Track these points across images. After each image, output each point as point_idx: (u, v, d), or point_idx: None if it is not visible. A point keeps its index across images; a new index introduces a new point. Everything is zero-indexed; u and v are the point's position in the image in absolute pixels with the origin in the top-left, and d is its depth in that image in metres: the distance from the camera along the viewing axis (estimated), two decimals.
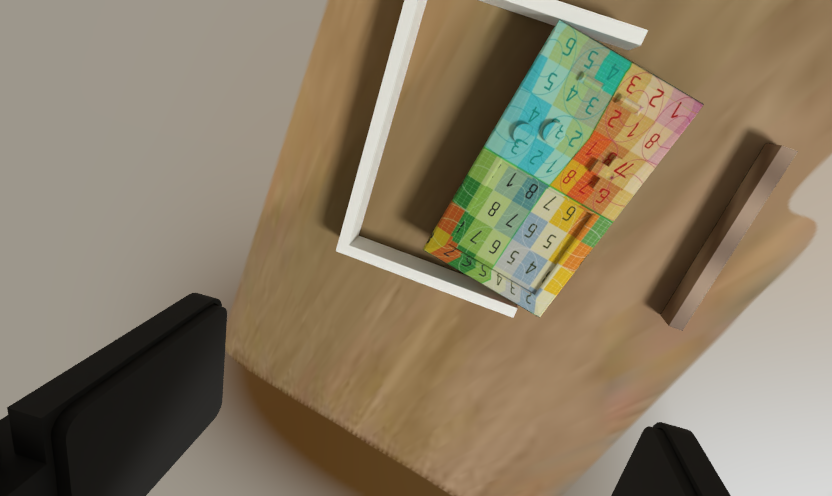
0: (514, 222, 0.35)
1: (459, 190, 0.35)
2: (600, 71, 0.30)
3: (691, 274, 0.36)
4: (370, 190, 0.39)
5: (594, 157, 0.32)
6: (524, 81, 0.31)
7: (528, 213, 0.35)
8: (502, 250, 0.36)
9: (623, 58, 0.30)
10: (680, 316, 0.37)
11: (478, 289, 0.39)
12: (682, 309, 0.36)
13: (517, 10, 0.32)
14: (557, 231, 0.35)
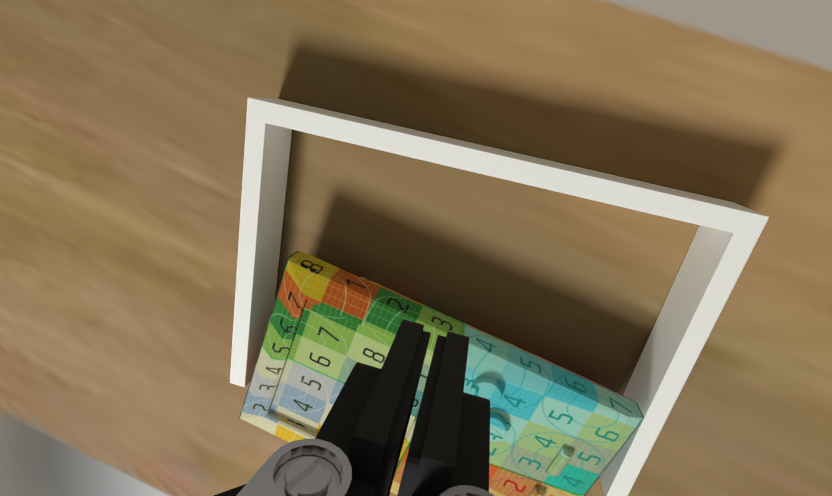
0: None
1: (392, 307, 0.22)
2: (574, 469, 0.23)
3: None
4: None
5: None
6: (560, 385, 0.22)
7: None
8: (318, 369, 0.24)
9: (589, 487, 0.24)
10: None
11: (256, 329, 0.26)
12: None
13: (655, 345, 0.23)
14: None
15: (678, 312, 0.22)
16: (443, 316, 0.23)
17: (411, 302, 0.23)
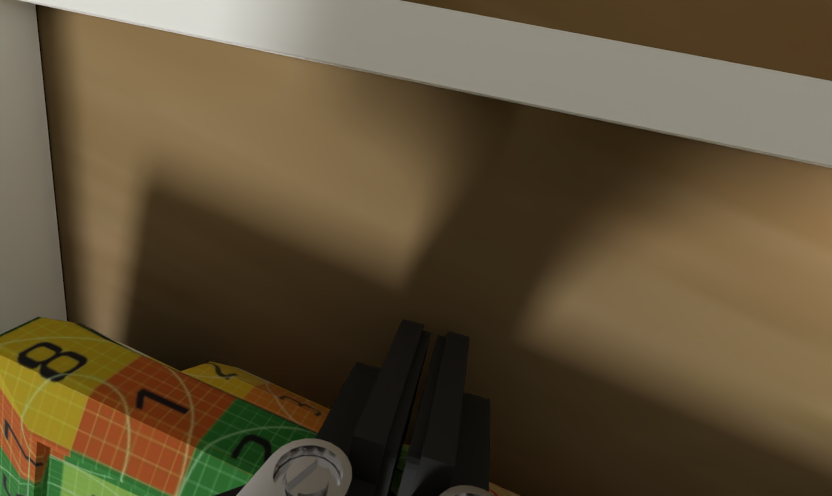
0: None
1: (244, 469, 0.09)
2: None
3: None
4: (204, 38, 0.09)
5: None
6: None
7: None
8: None
9: None
10: None
11: None
12: None
13: None
14: None
15: None
16: None
17: (305, 438, 0.10)
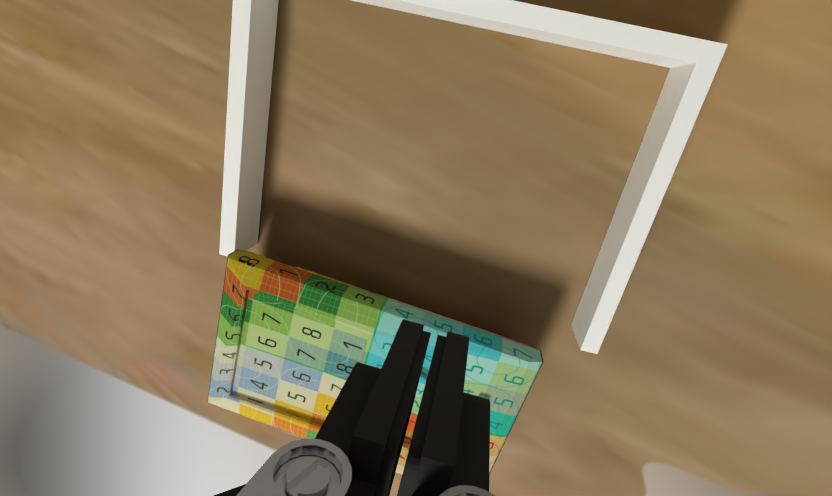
0: (304, 357, 0.28)
1: (320, 289, 0.26)
2: (492, 413, 0.27)
3: None
4: (357, 0, 0.24)
5: None
6: None
7: (320, 370, 0.28)
8: (267, 351, 0.28)
9: (509, 428, 0.27)
10: None
11: (245, 199, 0.27)
12: None
13: (626, 198, 0.24)
14: (311, 402, 0.29)
15: (647, 158, 0.23)
16: (368, 293, 0.27)
17: (339, 283, 0.27)
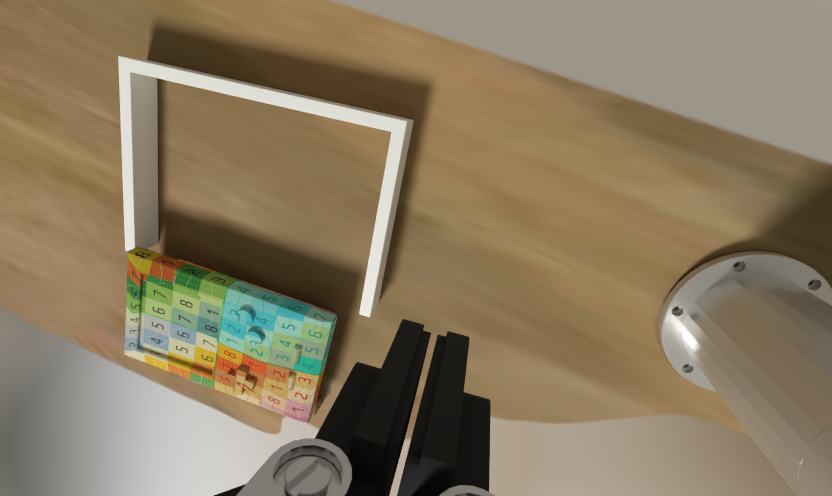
0: (183, 321, 0.41)
1: (187, 273, 0.39)
2: (305, 358, 0.39)
3: None
4: None
5: (249, 367, 0.41)
6: (283, 307, 0.38)
7: (194, 330, 0.41)
8: (159, 317, 0.41)
9: (320, 369, 0.40)
10: None
11: (141, 213, 0.40)
12: None
13: None
14: (192, 353, 0.42)
15: None
16: (223, 276, 0.40)
17: (204, 270, 0.40)
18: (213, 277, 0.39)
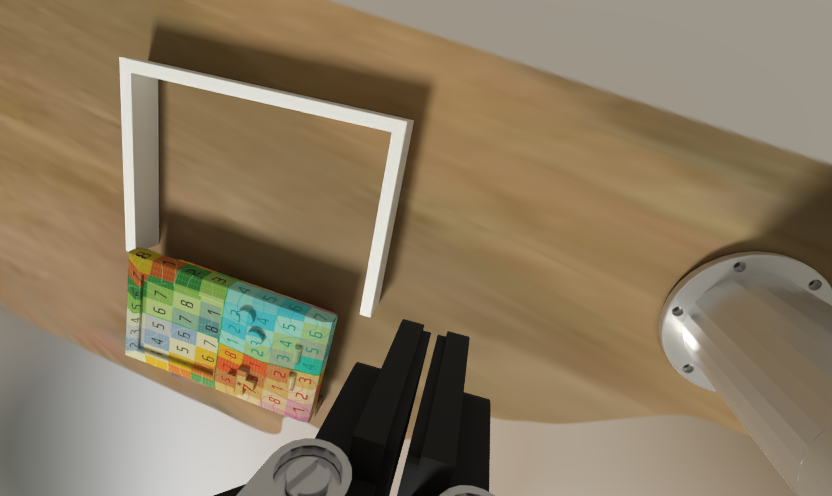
0: (184, 321, 0.41)
1: (188, 274, 0.39)
2: (306, 358, 0.39)
3: None
4: None
5: (250, 368, 0.41)
6: (283, 308, 0.38)
7: (195, 330, 0.41)
8: (160, 317, 0.41)
9: (320, 369, 0.40)
10: None
11: (142, 213, 0.40)
12: None
13: None
14: (192, 353, 0.42)
15: None
16: (224, 277, 0.40)
17: (205, 270, 0.40)
18: (214, 277, 0.39)
